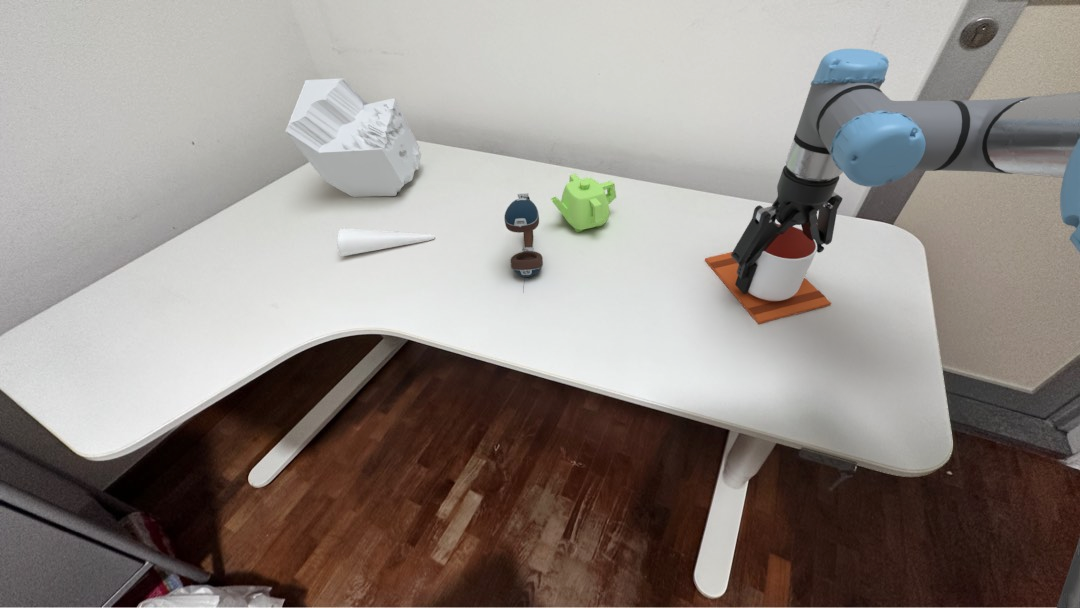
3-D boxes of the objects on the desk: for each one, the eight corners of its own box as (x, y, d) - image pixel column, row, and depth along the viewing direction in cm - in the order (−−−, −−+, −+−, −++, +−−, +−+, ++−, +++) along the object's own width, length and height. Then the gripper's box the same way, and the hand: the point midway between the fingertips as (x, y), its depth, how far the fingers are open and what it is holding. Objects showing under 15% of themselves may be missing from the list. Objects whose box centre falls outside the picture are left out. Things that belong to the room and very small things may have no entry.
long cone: (433, 261, 98) (341, 261, 97) (436, 246, 103) (349, 245, 102) (430, 238, 95) (334, 238, 94) (434, 223, 100) (343, 223, 99)
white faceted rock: (427, 155, 124) (390, 75, 101) (417, 203, 117) (375, 128, 95) (356, 157, 126) (305, 79, 104) (342, 204, 120) (285, 131, 97)
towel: (830, 305, 80) (831, 302, 79) (758, 324, 78) (759, 321, 77) (767, 245, 92) (768, 242, 92) (704, 260, 90) (705, 257, 90)
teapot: (571, 202, 108) (570, 164, 101) (617, 211, 104) (619, 172, 97) (550, 230, 101) (548, 191, 94) (600, 241, 97) (601, 201, 90)
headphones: (542, 305, 83) (544, 241, 100) (536, 233, 73) (539, 176, 90) (508, 307, 83) (516, 243, 100) (497, 235, 74) (508, 177, 91)
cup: (748, 260, 88) (762, 217, 81) (803, 279, 83) (824, 234, 76) (729, 291, 82) (743, 247, 75) (788, 312, 78) (808, 267, 71)
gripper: (860, 144, 71) (809, 256, 86) (727, 172, 68) (700, 282, 83) (899, 167, 65) (837, 281, 81) (757, 197, 62) (722, 310, 78)
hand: (768, 282), depth 82 cm, fingers closed on cup, 10 cm apart
